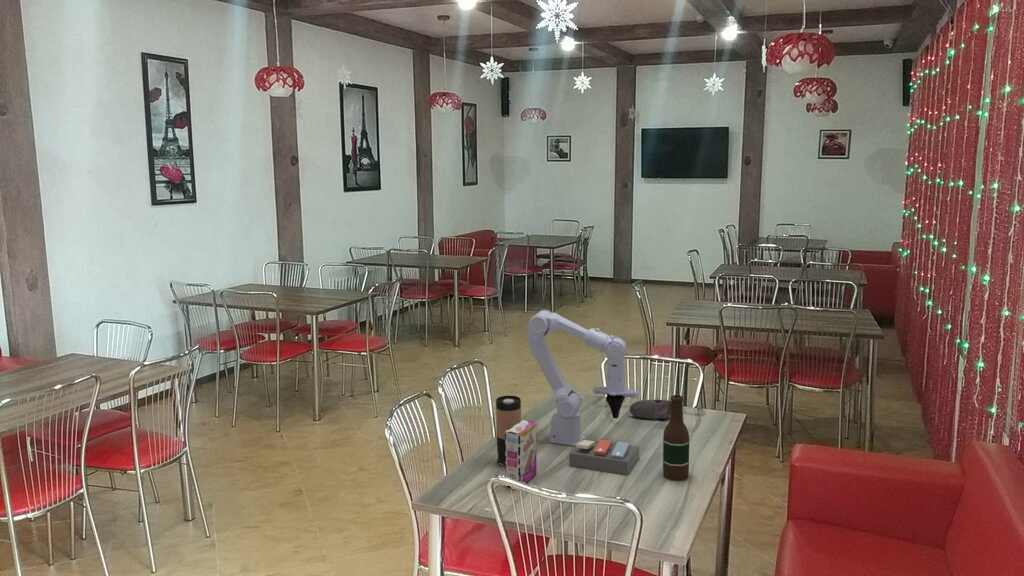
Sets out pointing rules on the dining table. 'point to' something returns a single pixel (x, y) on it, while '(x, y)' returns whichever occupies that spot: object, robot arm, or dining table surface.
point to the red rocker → (602, 447)
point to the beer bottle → (676, 443)
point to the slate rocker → (620, 450)
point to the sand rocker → (585, 444)
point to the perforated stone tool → (651, 409)
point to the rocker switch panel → (604, 459)
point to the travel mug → (506, 420)
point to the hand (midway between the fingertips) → (615, 417)
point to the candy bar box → (521, 451)
